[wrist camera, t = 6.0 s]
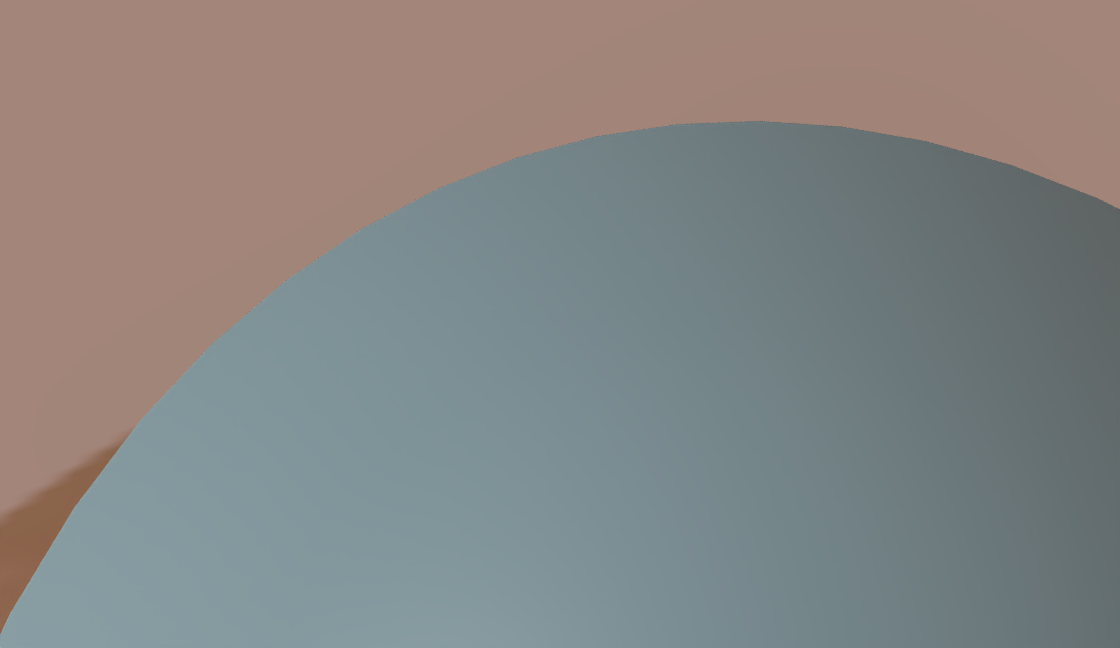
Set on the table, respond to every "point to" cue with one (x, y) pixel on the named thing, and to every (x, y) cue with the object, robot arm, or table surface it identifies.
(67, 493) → the table surface
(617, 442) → the blue-grey cylinder
